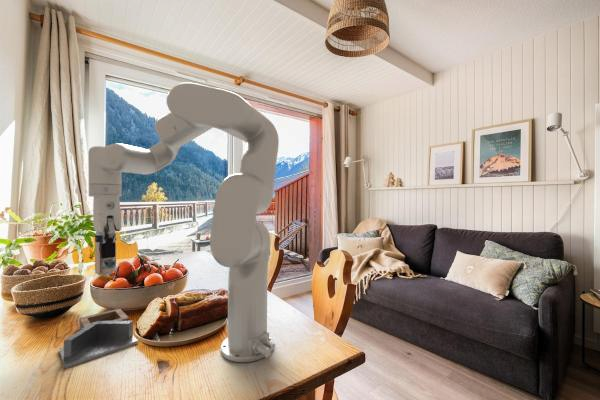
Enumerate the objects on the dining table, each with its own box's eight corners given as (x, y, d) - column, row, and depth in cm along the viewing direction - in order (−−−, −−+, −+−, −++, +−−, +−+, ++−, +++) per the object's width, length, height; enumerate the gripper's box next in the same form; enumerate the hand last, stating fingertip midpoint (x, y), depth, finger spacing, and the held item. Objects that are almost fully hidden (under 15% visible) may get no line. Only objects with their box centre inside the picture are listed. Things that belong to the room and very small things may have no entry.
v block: (137, 343, 68) (138, 324, 68) (64, 369, 57) (64, 346, 57) (126, 330, 74) (126, 313, 74) (59, 351, 64) (59, 331, 64)
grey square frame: (128, 328, 76) (129, 317, 76) (85, 341, 69) (85, 329, 69) (119, 317, 82) (119, 308, 82) (79, 328, 75) (79, 318, 75)
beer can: (103, 276, 72) (103, 231, 72) (91, 274, 74) (90, 231, 74) (120, 271, 77) (120, 229, 77) (108, 270, 78) (108, 229, 78)
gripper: (129, 190, 72) (130, 258, 72) (113, 192, 84) (114, 250, 84) (95, 190, 67) (95, 263, 67) (83, 192, 78) (83, 254, 78)
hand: (105, 255), depth 75 cm, fingers closed on beer can, 4 cm apart
